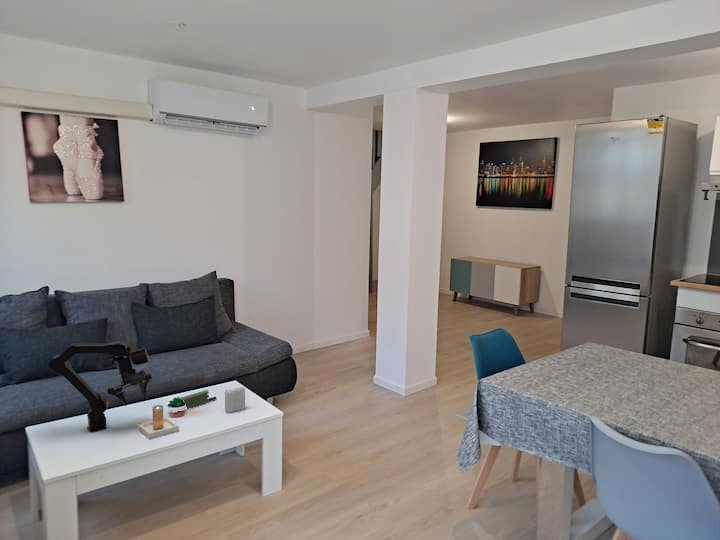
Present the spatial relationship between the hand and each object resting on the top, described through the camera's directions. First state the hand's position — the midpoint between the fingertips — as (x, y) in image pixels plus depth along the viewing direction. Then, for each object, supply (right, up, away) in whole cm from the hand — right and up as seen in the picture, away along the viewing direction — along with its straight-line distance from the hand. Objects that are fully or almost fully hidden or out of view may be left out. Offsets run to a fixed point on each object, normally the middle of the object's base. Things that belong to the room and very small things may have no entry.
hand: (135, 401), depth 239 cm
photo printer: (+40, -10, +22) cm, 47 cm away
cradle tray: (+12, -12, -3) cm, 17 cm away
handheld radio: (+19, -9, +27) cm, 34 cm away
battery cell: (+12, -11, -4) cm, 17 cm away
